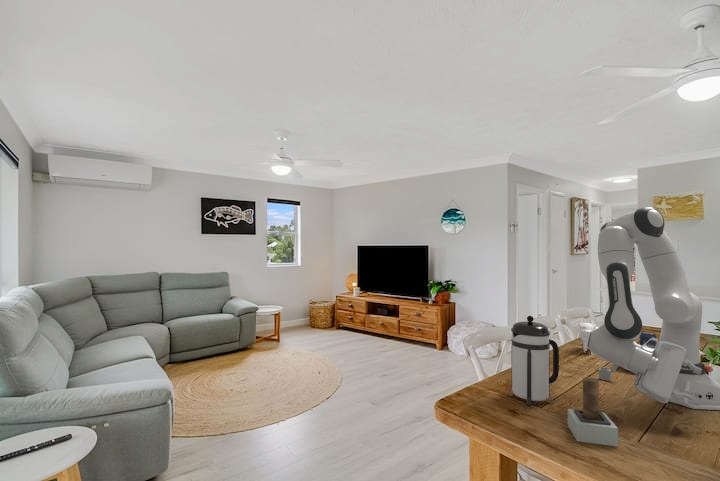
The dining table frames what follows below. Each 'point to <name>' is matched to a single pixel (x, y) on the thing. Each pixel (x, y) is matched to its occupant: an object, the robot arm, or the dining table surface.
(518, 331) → the coffee press
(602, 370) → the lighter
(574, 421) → the collar block
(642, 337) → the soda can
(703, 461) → the dining table surface
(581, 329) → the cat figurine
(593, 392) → the dowel
